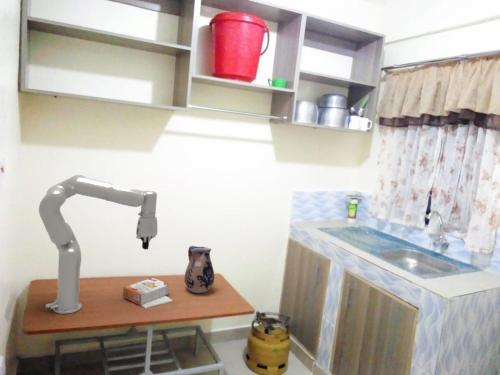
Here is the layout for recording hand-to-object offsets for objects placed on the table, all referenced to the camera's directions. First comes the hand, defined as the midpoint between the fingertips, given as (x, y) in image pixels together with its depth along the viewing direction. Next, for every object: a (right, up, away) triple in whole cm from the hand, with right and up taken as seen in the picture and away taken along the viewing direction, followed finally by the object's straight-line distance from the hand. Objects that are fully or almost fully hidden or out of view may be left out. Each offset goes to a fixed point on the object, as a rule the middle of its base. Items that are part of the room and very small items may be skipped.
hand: (145, 248), depth 193 cm
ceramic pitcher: (+23, -29, +25) cm, 45 cm away
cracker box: (-7, -25, -1) cm, 26 cm away
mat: (+1, -28, +7) cm, 29 cm away
